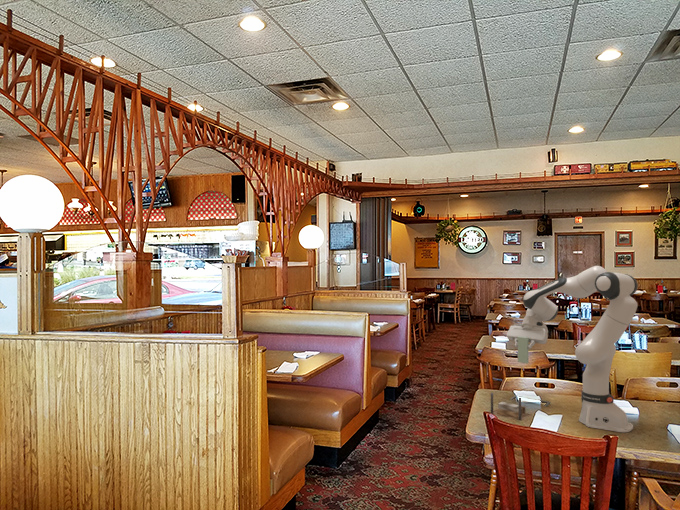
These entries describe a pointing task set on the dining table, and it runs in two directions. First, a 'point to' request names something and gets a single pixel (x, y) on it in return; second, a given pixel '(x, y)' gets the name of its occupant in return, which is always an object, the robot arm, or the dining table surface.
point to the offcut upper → (508, 407)
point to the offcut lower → (508, 413)
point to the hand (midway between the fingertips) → (522, 347)
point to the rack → (521, 416)
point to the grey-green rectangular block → (523, 349)
